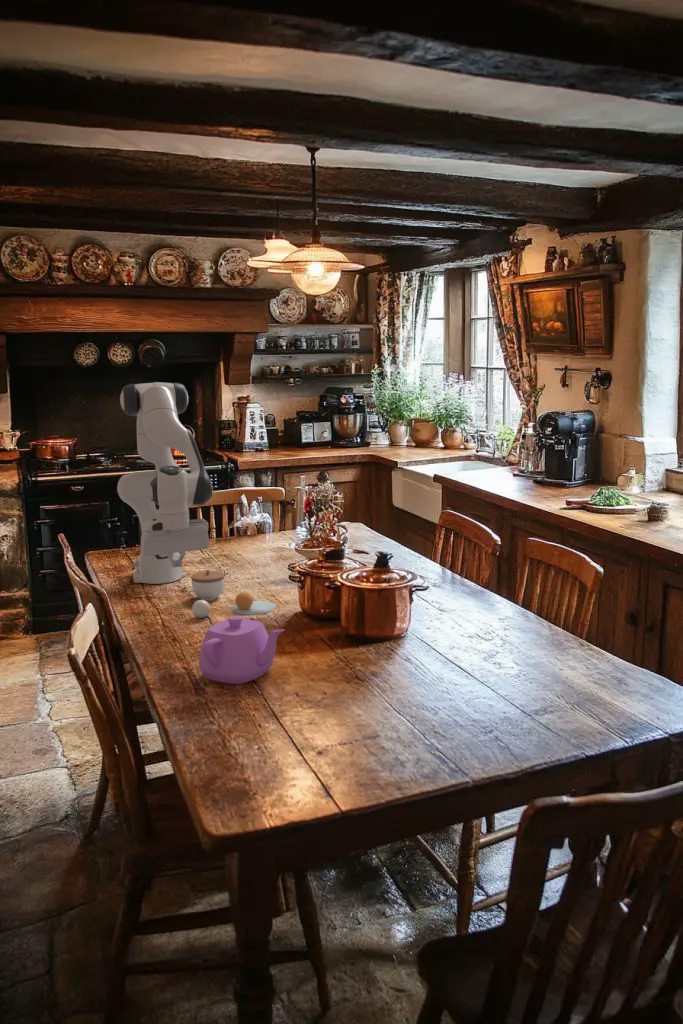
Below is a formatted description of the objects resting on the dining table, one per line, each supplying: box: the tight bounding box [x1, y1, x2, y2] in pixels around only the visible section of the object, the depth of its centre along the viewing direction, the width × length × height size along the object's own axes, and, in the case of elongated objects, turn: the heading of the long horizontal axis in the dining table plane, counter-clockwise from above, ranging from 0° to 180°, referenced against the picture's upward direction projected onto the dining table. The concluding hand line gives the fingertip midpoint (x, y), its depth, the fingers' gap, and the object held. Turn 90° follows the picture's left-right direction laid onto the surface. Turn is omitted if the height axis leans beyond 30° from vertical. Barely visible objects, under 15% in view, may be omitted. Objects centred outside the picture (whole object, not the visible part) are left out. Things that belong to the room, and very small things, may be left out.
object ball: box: [234, 591, 254, 610], centre depth 269 cm, size 6×6×6 cm
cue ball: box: [191, 599, 211, 619], centre depth 261 cm, size 6×6×6 cm
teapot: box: [198, 615, 286, 685], centre depth 211 cm, size 23×21×15 cm
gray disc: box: [231, 600, 277, 616], centre depth 271 cm, size 14×14×1 cm
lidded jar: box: [191, 569, 225, 601], centre depth 282 cm, size 11×11×9 cm
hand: (176, 566), depth 257 cm, fingers closed
